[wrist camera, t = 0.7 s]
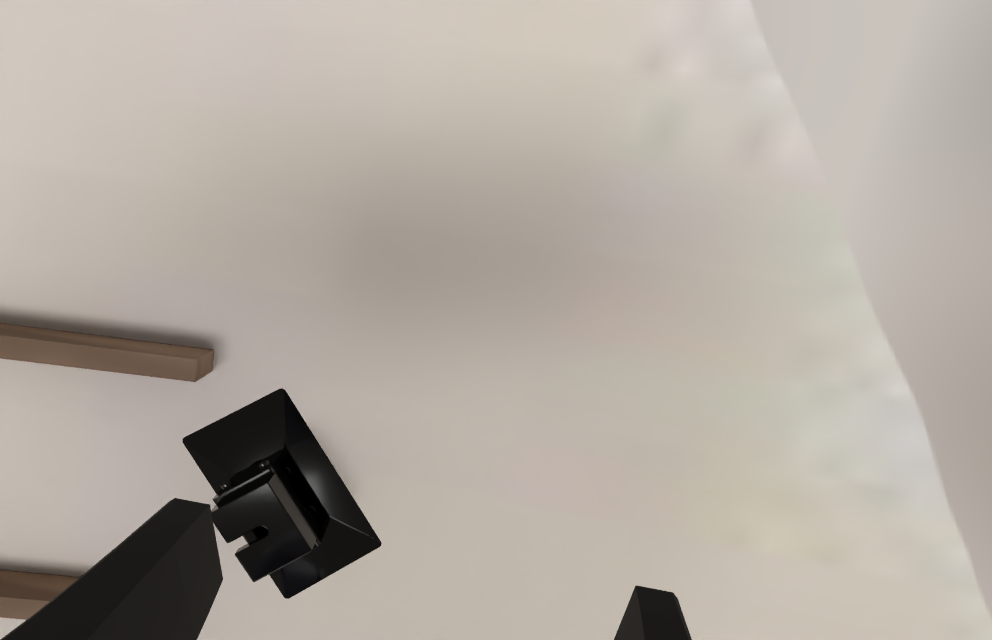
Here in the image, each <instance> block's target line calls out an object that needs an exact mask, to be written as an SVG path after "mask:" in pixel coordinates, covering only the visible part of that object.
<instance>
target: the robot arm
mask: <svg viewBox="0 0 992 640" xmlns="http://www.w3.org/2000/svg"><path fill="white" fill-rule="evenodd" d="M222 580H223V576H222V571H221V565H220V559H219V554H218V548H217V543H216V537H215V531H214V526H213V520H212V514H211V509H210V505H209V504H203V503H198V502H193V501H187V500H182V499H177V498H174V499H173V500H171V501H170V502H168V503H167V504H166V505H165V506H164V507H162V508H161V509H160V510H159V511H158V512H157V513H155V514H154V515H153V516H152V517H151V518H150V519H148V520H147V521H146V522H145V523H144V524H143V525H142V526H140V527H139V528H138V529H137V530H136V531H135V532H133V533H132V534H131V535H130V536H129V537H128V538H126V539H125V540H124V541H123V542H122V543H121V544H119V545H118V546H117V547H116V548H115V549H113V550H112V551H111V552H110V553H109V554H107V555H106V556H105V557H104V558H103V559H102V560H100V561H99V562H98V563H97V564H96V565H94V566H93V567H92V568H91V569H90V570H88V571H87V572H86V573H85V574H83V575H82V576H81V577H80V578H79V579H77V580H76V581H75V582H74V583H72V584H71V585H70V586H69V587H67V588H66V589H65V590H64V591H62V592H61V593H60V594H59V595H58V596H56V597H55V598H54V599H53V600H51V601H50V602H49V603H48V604H46V605H45V606H44V607H43V608H41V609H40V610H39V611H38V612H36V613H35V614H34V615H33V616H31V617H30V618H29V619H27V620H26V621H25V622H23V623H22V624H21V625H19V626H18V627H17V628H15V629H14V630H13V631H11V632H10V633H9V634H7V635H6V636H5V637H3V638H2V639H1V640H197V638H198V636H199V634H200V631H201V629H202V627H203V625H204V622H205V620H206V618H207V616H208V614H209V611H210V609H211V607H212V604H213V602H214V599H215V597H216V595H217V592H218V590H219V588H220V585H221V583H222ZM614 640H692V639H691V636H690V633H689V631H688V628H687V625H686V622H685V619H684V616H683V613H682V610H681V607H680V604H679V601H678V598H677V597H676V596H675V595H674V593H673V592H667V591H662V590H657V589H651V588H646V587H641V586H635V589H634V591H633V594H632V596H631V599H630V601H629V604H628V606H627V609H626V611H625V614H624V616H623V619H622V621H621V624H620V626H619V629H618V631H617V634H616V636H615V638H614Z"/></svg>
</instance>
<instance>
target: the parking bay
mask: <svg viewBox="0 0 992 640" xmlns="http://www.w3.org/2000/svg"><path fill="white" fill-rule="evenodd" d="M213 354H214V350H209V349H201V348H193V347H185V346H177V345H169V344H161V343H153V342H145V341H137V340H129V339H121V338H113V337H105V336H97V335H89V334H81V333H73V332H65V331H57V330H49V329H41V328H34V327H26V326H18V325H10V324H2V323H0V358H2V359H10V360H19V361H27V362H35V363H43V364H52V365H60V366H68V367H76V368H85V369H93V370H101V371H110V372H118V373H126V374H134V375H143V376H151V377H159V378H167V379H176V380H184V381H192V382H196V381H197V380H199V379H201V378H202V377H204V376H205V375H207V374H208V373H210V372H211V371H212V366H213ZM79 578H80V577H70V576H59V575H48V574H37V573H27V572H16V571H5V570H0V617H3V618H15V619H26V620H27V619H29V618H30V617H31V616H33V615H34V614H35V613H36V612H38V611H39V610H40V609H41V608H43V607H44V606H45V605H46V604H48V603H49V602H50V601H51V600H53V599H54V598H55V597H56V596H58V595H59V594H60V593H61V592H62V591H64V590H65V589H66V588H67V587H69V586H70V585H71V584H72V583H74V582H75V581H76V580H77V579H79Z"/></svg>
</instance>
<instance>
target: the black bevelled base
mask: <svg viewBox="0 0 992 640" xmlns="http://www.w3.org/2000/svg"><path fill="white" fill-rule="evenodd" d="M183 444H184V445H185V447H186V448H187V450H188V451H189V453H190V454H191V456H192V457H193V459H194V460H195V462H196V463H197V465H198V466H199V468H200V470H201V471H202V473H203V474H204V476H205V477H206V479H207V480H208V482H209V483H210V485H211V486H212V488H213V489H214V491H215V492H216V494H217V495H216V496H215V497H214V498H213V501H214V502H215V504H216V506H215V507H214V508H213V509H212V510H211V514H212V520H213V523H214V524H215V526H216V527H217V529H218V530H219V532H220V533H221V535H222V536H223V538H224V539H225V541H226V542H227V543H230V542H232V541H233V540H235V539H237V538H239V537H241V536H243V537H244V539H245V540H246V542H247V543H248V544H246V545H244V546H243V547H241V548H239V549H238V550H237V552H236V553H235V556H236V557H237V559H238V560H239V562H240V563H241V565H242V566H243V568H244V569H245V571H246V572H247V573H248V575H249V576H250V578H251V579H252V581H253V582H256V581H258V580H259V579H261V578H263V577H265V576H267V575H270V576H271V578H272V579H273V581H274V582H275V584H276V586H277V587H278V589H279V590H280V592H281V593H282V595H283V596H284V597H285V598H291V597H292V596H294V595H296V594H298V593H299V592H301V591H303V590H305V589H306V588H308V587H310V586H312V585H313V584H315V583H317V582H319V581H320V580H322V579H324V578H326V577H327V576H329V575H331V574H333V573H335V572H336V571H338V570H340V569H342V568H343V567H345V566H347V565H349V564H350V563H352V562H354V561H356V560H357V559H359V558H361V557H363V556H364V555H366V554H368V553H370V552H371V551H373V550H375V549H377V548H378V547H380V546H381V541H380V540H379V538H378V536H377V535H376V533H375V532H374V530H373V529H372V527H371V525H370V524H369V522H368V521H367V519H366V517H365V516H364V514H363V513H362V511H361V510H360V508H359V506H358V505H357V503H356V502H355V500H354V498H353V497H352V495H351V494H350V492H349V491H348V489H347V487H346V486H345V484H344V483H343V481H342V479H341V478H340V476H339V475H338V473H337V472H336V470H335V468H334V467H333V465H332V464H331V462H330V460H329V459H328V457H327V456H326V454H325V453H324V451H323V449H322V448H321V446H320V445H319V443H318V441H317V440H316V438H315V437H314V435H313V434H312V432H311V430H310V429H309V427H308V426H307V424H306V423H305V421H304V419H303V418H302V416H301V415H300V413H299V411H298V410H297V408H296V407H295V405H294V404H293V402H292V400H291V399H290V397H289V396H288V394H287V392H286V391H285V390H284V389H278V390H276V391H275V392H273V393H271V394H269V395H267V396H265V397H263V398H261V399H259V400H257V401H255V402H253V403H251V404H249V405H247V406H245V407H243V408H241V409H239V410H237V411H235V412H233V413H231V414H229V415H228V416H226V417H224V418H222V419H220V420H218V421H216V422H214V423H212V424H210V425H208V426H206V427H204V428H202V429H200V430H198V431H196V432H194V433H192V434H190V435H188V436H186V437H184V438H183Z"/></svg>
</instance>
